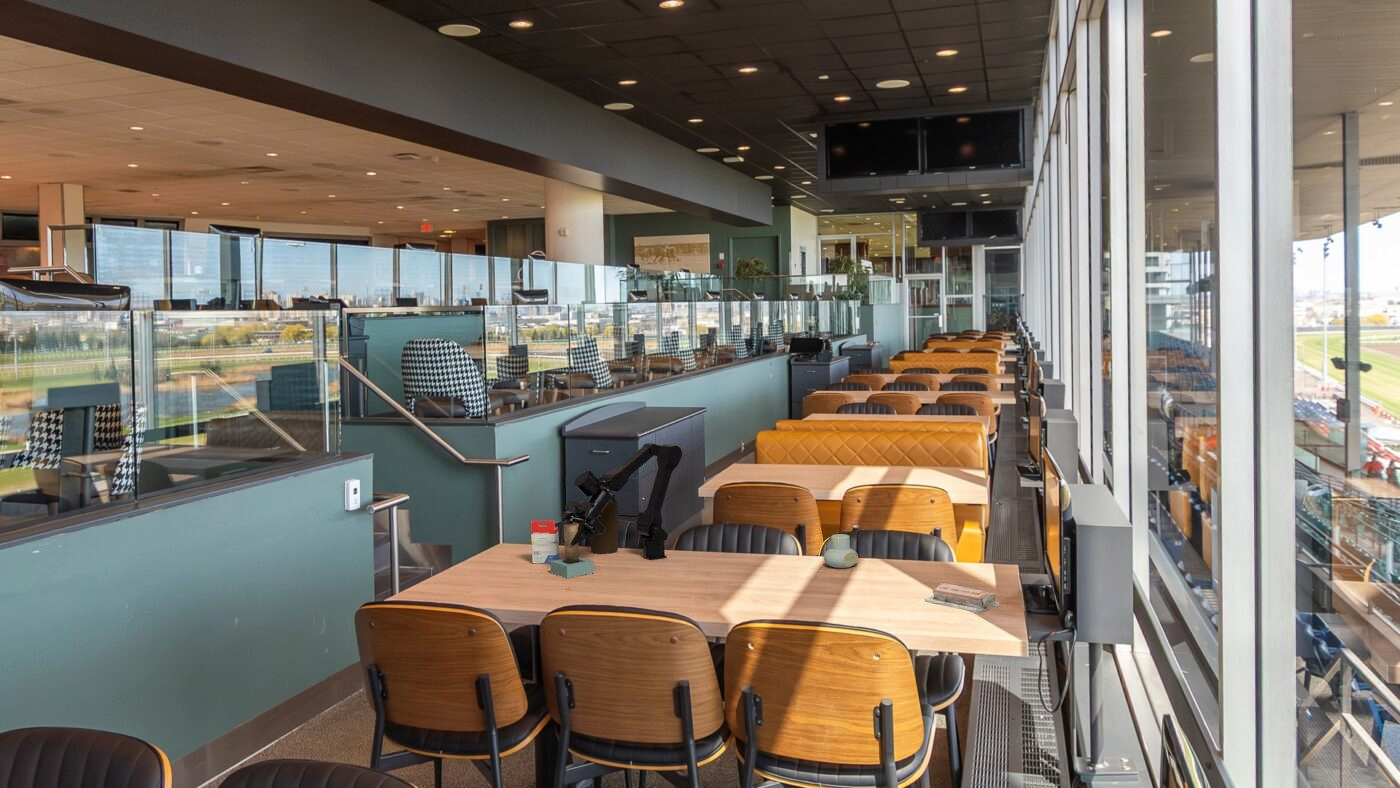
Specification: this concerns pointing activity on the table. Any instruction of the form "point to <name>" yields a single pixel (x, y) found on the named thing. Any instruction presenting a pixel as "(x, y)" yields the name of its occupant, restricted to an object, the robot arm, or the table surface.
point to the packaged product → (963, 598)
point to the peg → (570, 550)
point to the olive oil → (607, 531)
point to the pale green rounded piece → (840, 552)
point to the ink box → (544, 542)
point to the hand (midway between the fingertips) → (567, 543)
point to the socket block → (572, 568)
